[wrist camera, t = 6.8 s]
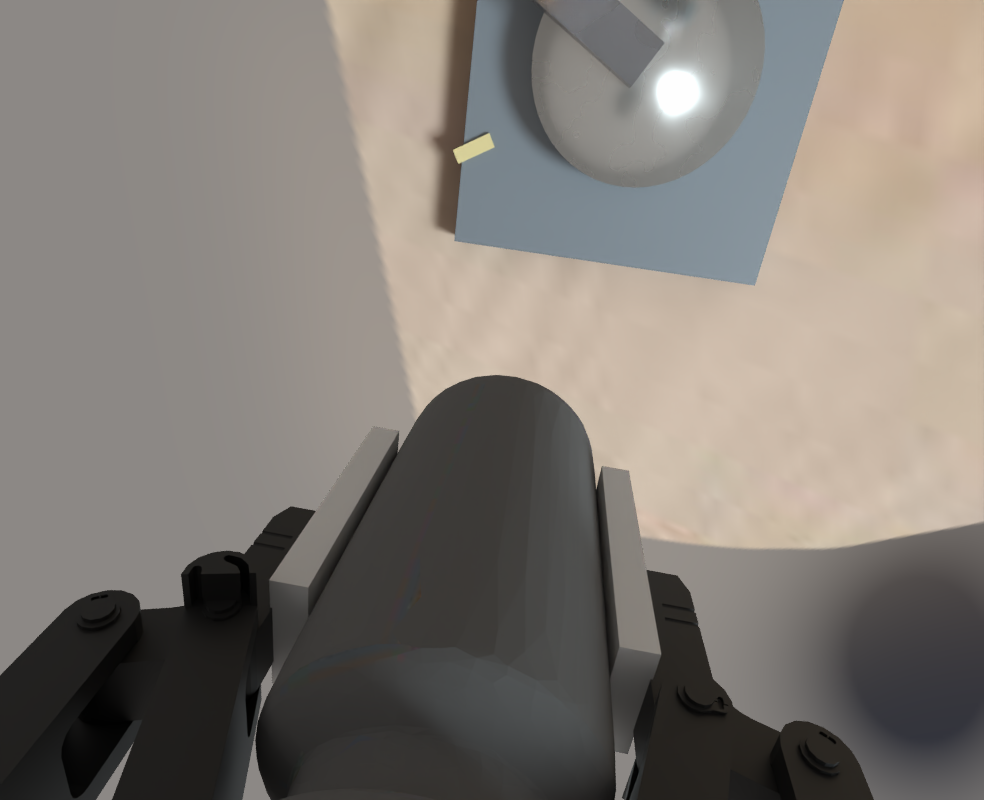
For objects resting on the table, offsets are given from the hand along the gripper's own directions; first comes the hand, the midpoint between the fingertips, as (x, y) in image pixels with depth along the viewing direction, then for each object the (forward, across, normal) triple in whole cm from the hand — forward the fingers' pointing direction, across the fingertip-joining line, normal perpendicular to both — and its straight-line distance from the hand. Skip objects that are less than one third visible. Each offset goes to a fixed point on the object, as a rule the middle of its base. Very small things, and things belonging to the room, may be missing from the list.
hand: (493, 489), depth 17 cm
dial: (+17, +2, +13) cm, 22 cm away
